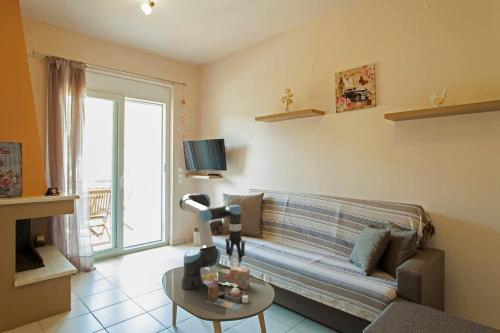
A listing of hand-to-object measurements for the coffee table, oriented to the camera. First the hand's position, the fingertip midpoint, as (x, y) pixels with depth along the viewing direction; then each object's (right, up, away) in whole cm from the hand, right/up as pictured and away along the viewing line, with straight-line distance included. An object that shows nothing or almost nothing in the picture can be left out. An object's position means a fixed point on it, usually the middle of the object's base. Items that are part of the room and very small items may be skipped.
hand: (235, 266), depth 184 cm
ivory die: (+6, -21, -3) cm, 22 cm away
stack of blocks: (-2, -20, +20) cm, 28 cm away
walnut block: (-14, -20, -2) cm, 25 cm away
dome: (0, -19, +1) cm, 19 cm away
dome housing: (0, -21, +1) cm, 21 cm away
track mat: (-6, -21, -6) cm, 23 cm away
